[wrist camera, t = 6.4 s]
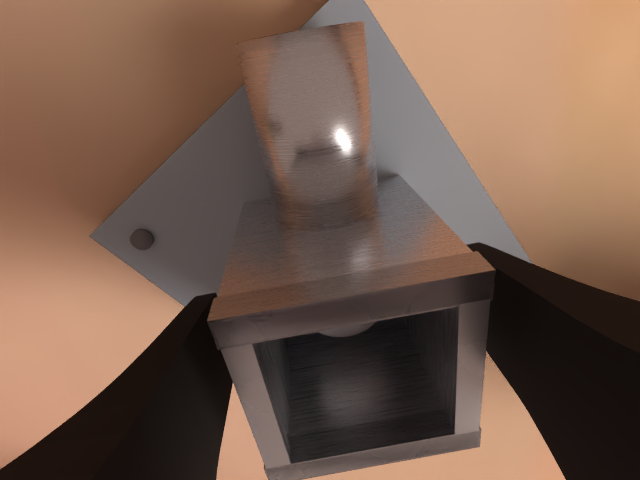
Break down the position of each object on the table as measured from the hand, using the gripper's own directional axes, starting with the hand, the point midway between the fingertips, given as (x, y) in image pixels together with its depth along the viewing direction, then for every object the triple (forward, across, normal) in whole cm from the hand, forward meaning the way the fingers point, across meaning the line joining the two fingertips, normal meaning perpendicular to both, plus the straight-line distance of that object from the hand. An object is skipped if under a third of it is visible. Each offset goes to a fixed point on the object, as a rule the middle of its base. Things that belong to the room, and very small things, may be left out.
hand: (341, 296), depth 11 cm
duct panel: (+4, 0, 0) cm, 4 cm away
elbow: (+3, 0, -2) cm, 3 cm away
